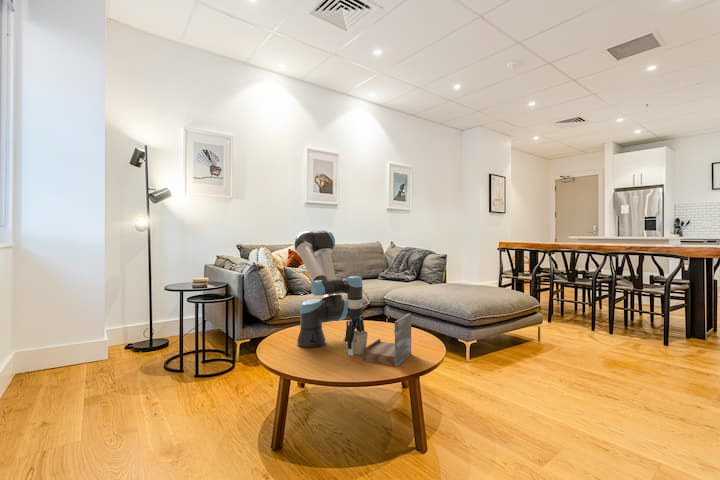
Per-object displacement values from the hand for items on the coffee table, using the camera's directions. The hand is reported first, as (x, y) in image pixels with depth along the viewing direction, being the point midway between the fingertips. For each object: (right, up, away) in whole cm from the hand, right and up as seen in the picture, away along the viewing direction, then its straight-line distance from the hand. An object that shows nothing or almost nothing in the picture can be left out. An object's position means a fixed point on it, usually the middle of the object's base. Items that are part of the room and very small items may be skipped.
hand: (355, 351), depth 178 cm
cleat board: (+16, 0, -7) cm, 17 cm away
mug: (0, 0, 0) cm, 0 cm away
